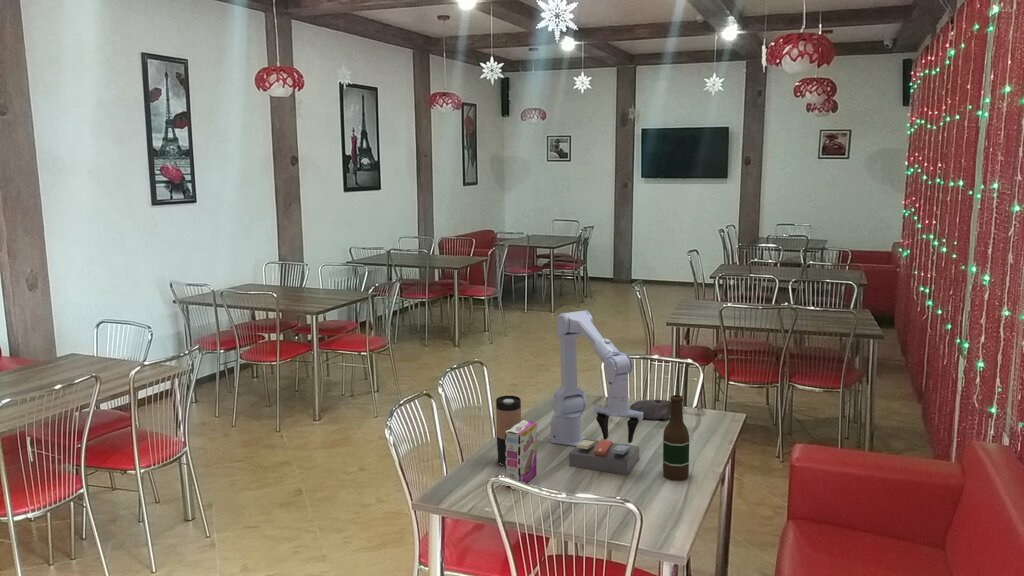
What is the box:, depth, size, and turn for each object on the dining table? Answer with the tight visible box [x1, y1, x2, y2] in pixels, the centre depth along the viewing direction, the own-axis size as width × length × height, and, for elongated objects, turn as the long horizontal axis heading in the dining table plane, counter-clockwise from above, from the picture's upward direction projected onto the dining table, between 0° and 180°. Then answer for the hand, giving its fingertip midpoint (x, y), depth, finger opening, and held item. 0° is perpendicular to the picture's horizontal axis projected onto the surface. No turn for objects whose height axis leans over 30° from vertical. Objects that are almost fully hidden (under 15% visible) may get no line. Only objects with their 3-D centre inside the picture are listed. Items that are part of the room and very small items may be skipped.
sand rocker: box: [575, 440, 595, 449], centre depth 231 cm, size 4×7×1 cm, turn 155°
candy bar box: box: [504, 419, 537, 484], centre depth 217 cm, size 11×5×16 cm, turn 152°
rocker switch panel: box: [568, 438, 640, 476], centre depth 230 cm, size 18×13×4 cm
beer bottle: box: [662, 394, 690, 481], centre depth 218 cm, size 8×8×24 cm
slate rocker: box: [612, 445, 630, 454], centre depth 226 cm, size 4×7×1 cm, turn 155°
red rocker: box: [593, 439, 613, 456], centre depth 228 cm, size 4×7×1 cm, turn 155°
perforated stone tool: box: [629, 399, 671, 421], centre depth 267 cm, size 15×5×7 cm, turn 74°
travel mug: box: [495, 395, 522, 466], centre depth 231 cm, size 8×8×20 cm
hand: (618, 440), depth 223 cm, fingers open, 7 cm apart
